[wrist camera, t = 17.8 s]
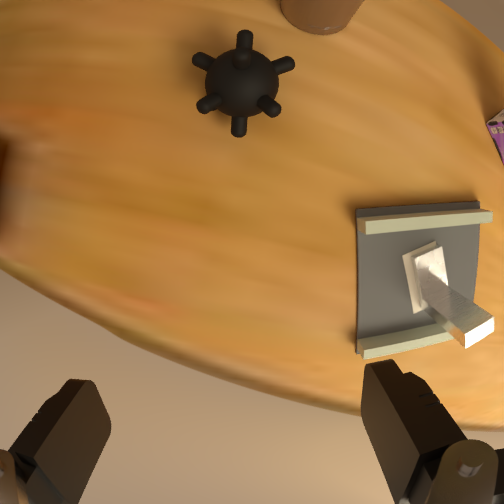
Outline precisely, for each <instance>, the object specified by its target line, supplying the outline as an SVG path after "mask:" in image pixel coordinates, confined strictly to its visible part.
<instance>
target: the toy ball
mask: <svg viewBox="0 0 504 504" xmlns="http://www.w3.org/2000/svg"><path fill="white" fill-rule="evenodd" d="M252 45H253V33H252V32H251V31H249V30H241V31H239V32H238V34H237V43H236V49H233V50H229V51H227V52H225V53H223V54H221V55H220V56H218V57H217V58H216V59H215V58H213V57H211V56H209V55H207V54H205V53H203V52H198V53H196V54H194V56H193V57H192V63H193V65H195V66H197V67H199V68H201V69H203V70H205V71H207V74H206V79H205V89H206V93H207V96H205V97H203V98H202V99H200V100H199V101H198V102H197V104H196V106H197V109H198V111H199V112H200V113H202V114H207V113H209V112H210V111H212V110H213V111H214V110H216V109H218V110H219V111H221V112H223V113H224V114H226V115H229V116H232V120H231V134H232V135H233V136H235V137H243V136H245V135H246V132H247V117H250V116H254V115H256V114H259V113H261V112H262V111H263V112H264V113H265V114H267V115H268V116H270V117H271V118H273V117H276V116H278V115H279V114H280V113H281V105H280V104H278V103H277V102H276V101H275V100H274V99H275V97H276V95H277V92H278V87H279V78H278V75H280V74H282V73H285V72H288V71H291V70H293V69H294V67H295V62H294V60H293V59H292V58H291V57H289V56H285V57H282V58H279V59H277V60H274V61H270V60H269V59H268V58H267V57H265V56H264V55H263V54H261V53H259V52H257V51H254V50H252Z"/></svg>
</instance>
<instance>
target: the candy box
mask: <svg viewBox="0 0 504 504" xmlns="http://www.w3.org/2000/svg"><path fill="white" fill-rule="evenodd" d="M486 125H487V127H488V129H489V132H490V134H491V136H492V138H493V140H494V142H495V145H496V147H497V150H498V152H499V154H500V156H501V159H502V162H503V164H504V109H503V110H502V111H501V112H499V113H498V114H497V115H496V116H494V117H493V118H491V119H490V120H489V121H488V122H487V123H486Z"/></svg>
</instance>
